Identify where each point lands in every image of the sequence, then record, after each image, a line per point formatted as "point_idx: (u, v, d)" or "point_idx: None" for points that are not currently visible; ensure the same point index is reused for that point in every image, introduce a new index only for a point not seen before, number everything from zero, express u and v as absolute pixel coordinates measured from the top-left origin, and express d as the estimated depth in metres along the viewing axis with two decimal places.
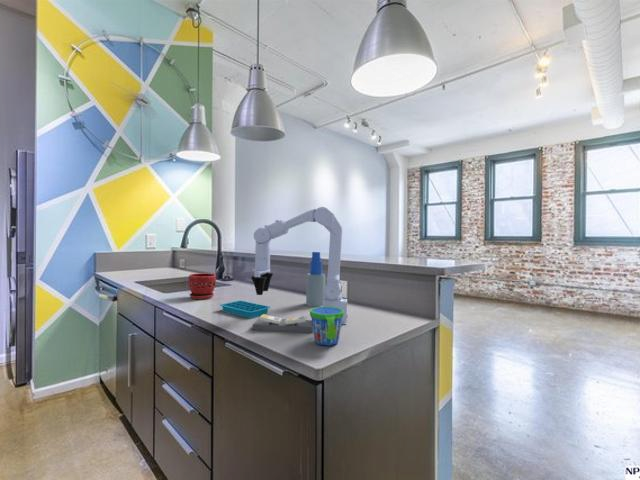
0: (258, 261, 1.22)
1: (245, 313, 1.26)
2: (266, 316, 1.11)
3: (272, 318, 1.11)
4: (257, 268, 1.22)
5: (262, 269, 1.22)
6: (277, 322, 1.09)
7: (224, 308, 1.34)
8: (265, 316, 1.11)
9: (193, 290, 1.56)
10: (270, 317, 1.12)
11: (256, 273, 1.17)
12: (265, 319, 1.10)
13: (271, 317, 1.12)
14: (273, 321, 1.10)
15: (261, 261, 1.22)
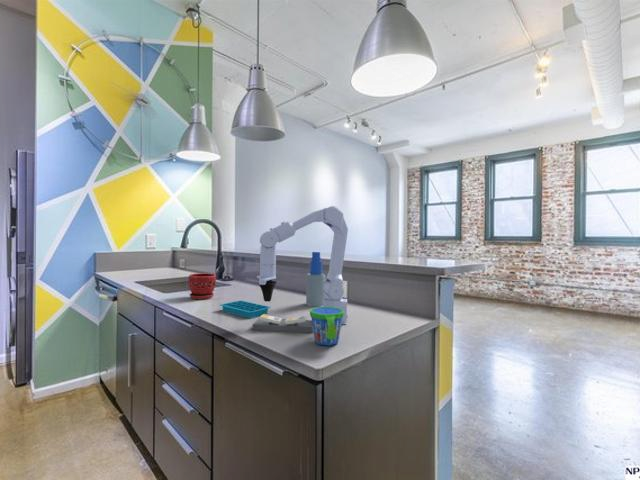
0: (263, 267, 1.13)
1: (245, 313, 1.26)
2: (266, 316, 1.11)
3: (272, 318, 1.11)
4: (262, 275, 1.14)
5: (267, 276, 1.13)
6: (277, 322, 1.09)
7: (224, 308, 1.34)
8: (265, 316, 1.11)
9: (193, 290, 1.56)
10: (270, 317, 1.12)
11: (261, 280, 1.09)
12: (265, 319, 1.10)
13: (271, 317, 1.12)
14: (273, 321, 1.10)
15: (266, 267, 1.13)
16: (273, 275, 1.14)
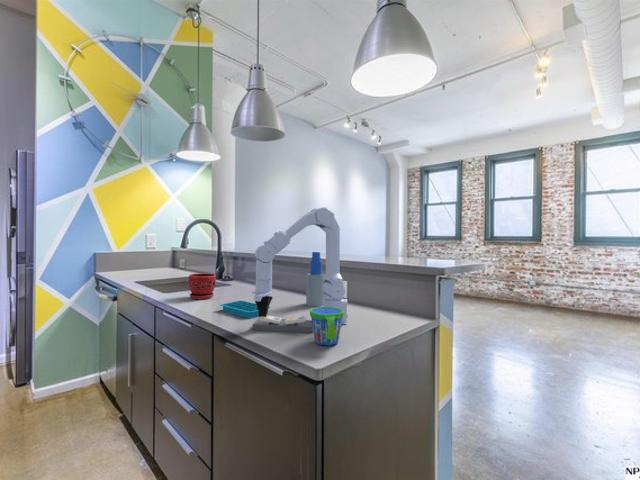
0: (259, 282, 1.09)
1: (244, 313, 1.26)
2: (266, 316, 1.11)
3: (272, 318, 1.11)
4: (257, 290, 1.09)
5: (263, 291, 1.09)
6: (277, 322, 1.09)
7: (224, 308, 1.35)
8: None
9: (193, 290, 1.56)
10: (270, 317, 1.12)
11: (256, 297, 1.04)
12: (265, 319, 1.10)
13: (271, 317, 1.12)
14: (273, 321, 1.10)
15: (262, 282, 1.09)
16: (269, 291, 1.10)
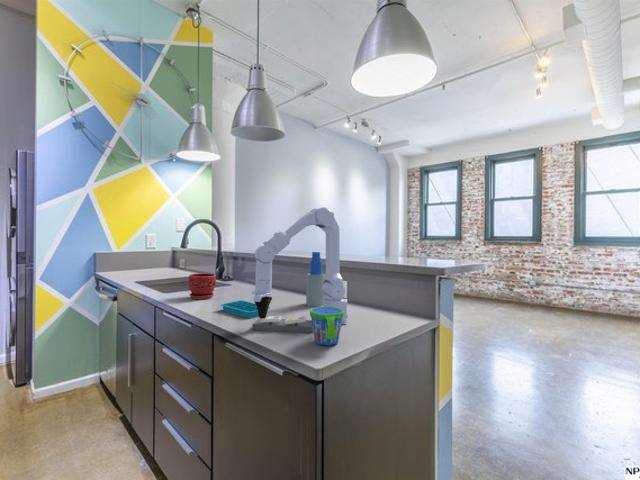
0: (258, 283, 1.09)
1: (244, 313, 1.26)
2: None
3: (272, 317, 1.11)
4: (257, 291, 1.09)
5: (263, 292, 1.09)
6: (277, 320, 1.09)
7: (224, 308, 1.35)
8: None
9: (193, 290, 1.56)
10: (270, 317, 1.12)
11: (256, 297, 1.04)
12: (265, 320, 1.10)
13: (271, 317, 1.12)
14: (273, 320, 1.10)
15: (262, 283, 1.09)
16: (269, 291, 1.10)
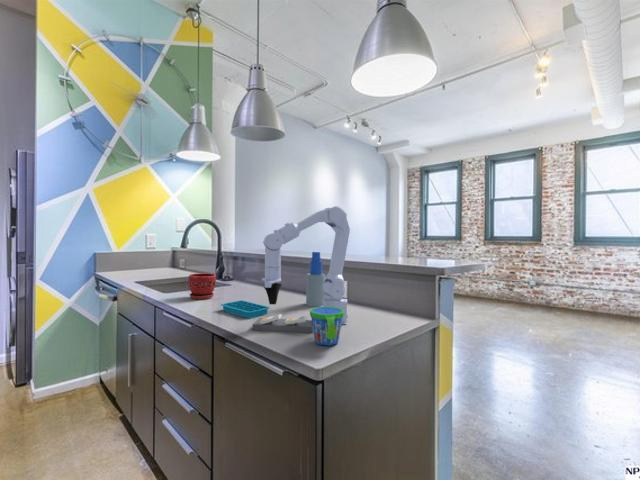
0: (268, 270, 1.11)
1: (244, 313, 1.26)
2: (265, 318, 1.11)
3: (271, 317, 1.11)
4: (267, 277, 1.12)
5: (273, 278, 1.11)
6: (277, 318, 1.09)
7: (224, 308, 1.35)
8: (264, 319, 1.11)
9: (193, 290, 1.56)
10: (269, 317, 1.12)
11: (266, 283, 1.07)
12: (265, 321, 1.10)
13: (270, 317, 1.12)
14: (273, 319, 1.10)
15: (271, 270, 1.11)
16: (278, 277, 1.12)
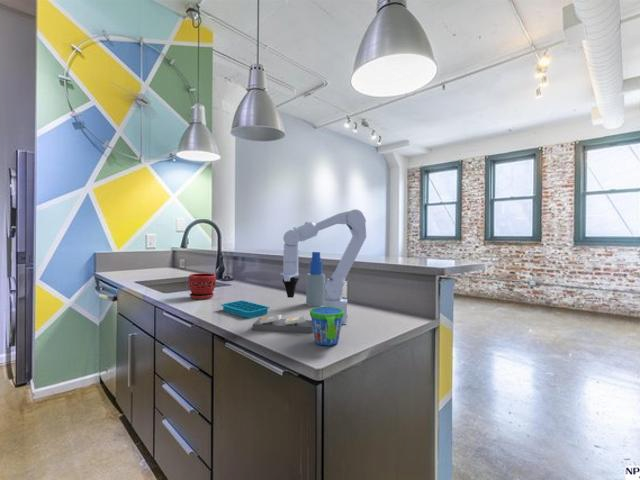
0: (287, 264, 1.18)
1: (244, 313, 1.26)
2: (265, 318, 1.11)
3: (271, 317, 1.11)
4: (286, 272, 1.18)
5: (291, 273, 1.18)
6: (277, 318, 1.09)
7: (225, 308, 1.35)
8: (264, 318, 1.11)
9: (193, 290, 1.56)
10: (269, 317, 1.12)
11: (286, 277, 1.13)
12: (265, 321, 1.10)
13: (270, 317, 1.12)
14: (273, 319, 1.10)
15: (290, 264, 1.17)
16: (296, 272, 1.19)
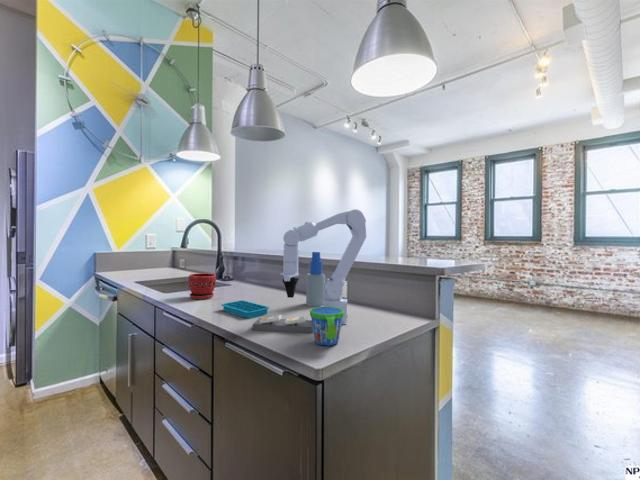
0: (287, 264, 1.18)
1: (244, 313, 1.26)
2: (265, 318, 1.11)
3: (271, 317, 1.11)
4: (286, 272, 1.18)
5: (291, 273, 1.18)
6: (277, 319, 1.09)
7: (225, 308, 1.35)
8: (264, 318, 1.11)
9: (193, 290, 1.56)
10: (269, 317, 1.12)
11: (286, 277, 1.13)
12: (265, 321, 1.10)
13: (270, 317, 1.12)
14: (273, 319, 1.10)
15: (290, 264, 1.17)
16: (296, 272, 1.19)
